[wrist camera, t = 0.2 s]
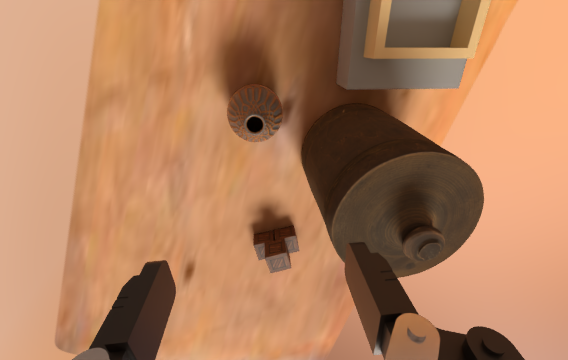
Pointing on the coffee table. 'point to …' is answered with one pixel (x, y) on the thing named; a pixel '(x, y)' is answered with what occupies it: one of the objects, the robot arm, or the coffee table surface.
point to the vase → (255, 113)
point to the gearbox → (408, 42)
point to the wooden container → (389, 188)
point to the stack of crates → (276, 247)
